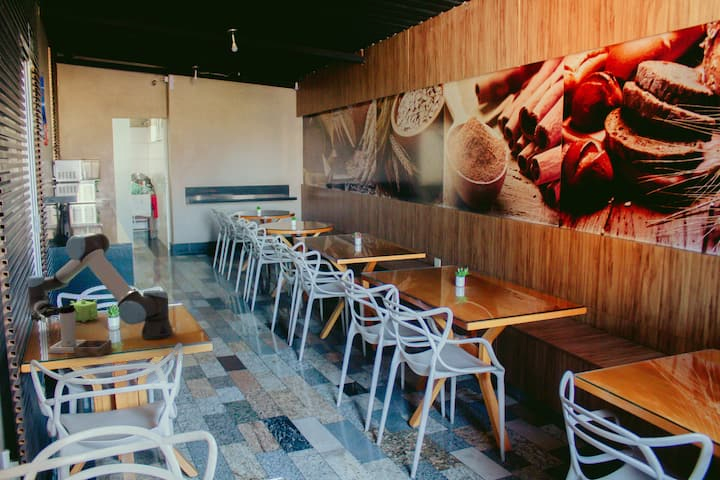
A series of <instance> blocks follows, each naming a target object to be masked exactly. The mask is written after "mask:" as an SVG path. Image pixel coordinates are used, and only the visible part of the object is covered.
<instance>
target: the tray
mask: <svg viewBox="0 0 720 480" xmlns="http://www.w3.org/2000/svg"><path fill="white" fill-rule="evenodd" d="M85 340H86V339H76V343H77V345H79V344H80V343H82V342H83V341H85ZM75 347H76V346H75ZM48 351H49V354H74V347H62V342H61V340H60V341H58V342H56V343H55V344H53V345H52V346H50V347H49V350H48Z"/></svg>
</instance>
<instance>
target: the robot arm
mask: <svg viewBox="0 0 720 480" xmlns="http://www.w3.org/2000/svg"><path fill="white" fill-rule="evenodd" d="M65 246H66V247H65V248H66V249H65V251H66V254H67V256H68V257H69V259H71V260H69V261H68V262H66V264H65V265H63V266H62V267H61V268H60V269H59V270H57V272H55V273H54V274H53V275H50V276H46V277H45V275H43V274H38V275H37V274H36V275H30V276H29V277H28V278H27V289H28V300H27V304H26V306H27V307H26V308H28V310H29V311H30V312H31V314H30V320H31V322H32V321H35V322H39V321H40V322H42V323H46V318H50V317H52V316H54V315H55V316H59V315H60V310H59V308H60V307H63V306H64V305H63V306H61V305H60V306H59V307H55V306H54V304H52V303H50V302H48V301H47V298H46V296H47V295H46V293H48V292H51V291H52V292H53V291H56V290H60V289H63V288H66V287H68V286H69V284H70V281H71V280H73V278H74V277H75V276H77V275H78V274H79V273H81V272H82V270H84V269H85V268H87V267H88V268H89V269H90V270H91V272H92V273H93V274H94V275H95V276H96V278H98V280H99V281H100V283H102V284H103V286H104V287H105V288H106V290H107V291H108V292H109V293H110V294H111V296H112V297H113V298H114V299H115V300H116V301H117V305H116V306H117V308H118V309H117V311H118V316H119V318H120V320H121V321H123V323H124V324H128V325H137V324H142V323H143V322H144V323H143V326H142V329H141V338H142V339H143V340H150V341H152V340H153V341H154V340H155V341H156V340H163V339H167V338H170V337H173V335H174V329H173V326H172V325H171V322H170V318H169V317H170V316H169V314H170V313H169V312H170V311H169V293H168V292H167V291H165V290H145V291H143V293H142V294H141V292H139V290H136V291H134V290H133V288H132V287H131V286H130V285H129V284H128V283H127V282H126V280H125V279H124V278H123V276H122V275H121V274H120V273H119V272H118V271H117V269H116V268H115V267H114V266H113V264H111V263H110V262H109V260H108V259H107V258H106V256H105V254H106V253H107V252H108V251H109V249H110V246H111V245H110V239H109V238H108V237H107V236H106V235H105V234H103V233H102V232H99V231H97V232H90V233H85V234H77V235H72V236H71V237H70V238H68V240H67V242H66V245H65ZM74 313H76V308H74ZM75 317H76V316H75Z"/></svg>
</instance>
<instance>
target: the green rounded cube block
mask: <svg viewBox="0 0 720 480" xmlns="http://www.w3.org/2000/svg"><path fill="white" fill-rule="evenodd" d="M97 301H98V299H94V300H93V301H87V300H85V299H83V300H80V301H79V302H78V301H77V302H75V301H73V300H70V304H69V305H74V308H76V313H75V316H76V317H75V322H80V321H81V322H85V323H86V321H88V320H89V321H94V320H93V319H96V318H98V317H99V316H98V314H99V313H98V302H97ZM81 322H80V323H81Z"/></svg>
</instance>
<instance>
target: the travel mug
mask: <svg viewBox="0 0 720 480" xmlns="http://www.w3.org/2000/svg"><path fill="white" fill-rule="evenodd" d="M58 308H59V310H60V314H59V323H60V324H59V325H60V341H61V342H62V347H75V346H77V343H76V340H77V331H76V321H75V313H74V305H70V304H67V305H63V307H60V306H59V307H58Z"/></svg>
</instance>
